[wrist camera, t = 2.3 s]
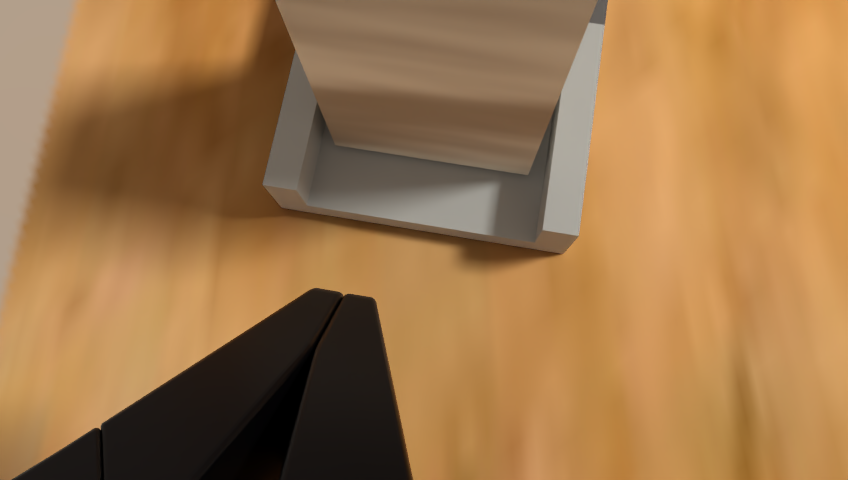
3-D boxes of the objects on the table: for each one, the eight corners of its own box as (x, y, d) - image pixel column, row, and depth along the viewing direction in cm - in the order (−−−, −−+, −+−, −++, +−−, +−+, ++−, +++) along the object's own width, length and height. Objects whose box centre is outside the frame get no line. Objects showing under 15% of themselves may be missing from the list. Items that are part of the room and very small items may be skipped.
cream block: (527, 175, 20) (599, -4, 11) (335, 145, 20) (253, -52, 11) (545, 57, 20) (624, -196, 12) (360, 31, 21) (302, -234, 12)
